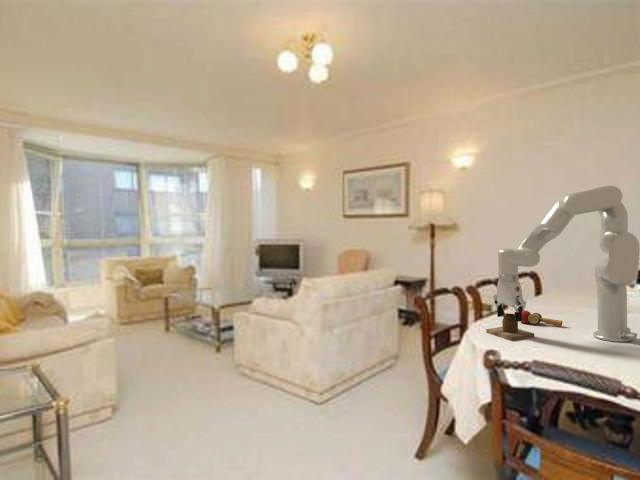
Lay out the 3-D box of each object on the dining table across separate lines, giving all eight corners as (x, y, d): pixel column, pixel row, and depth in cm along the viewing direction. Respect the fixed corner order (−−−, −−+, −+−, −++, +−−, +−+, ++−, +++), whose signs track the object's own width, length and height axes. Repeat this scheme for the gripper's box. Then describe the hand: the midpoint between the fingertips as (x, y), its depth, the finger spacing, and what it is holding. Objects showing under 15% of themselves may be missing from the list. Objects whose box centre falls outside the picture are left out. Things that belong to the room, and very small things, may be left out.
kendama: (562, 327, 183) (519, 317, 194) (564, 315, 181) (520, 305, 192) (559, 334, 177) (515, 324, 188) (560, 321, 175) (516, 311, 186)
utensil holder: (518, 333, 166) (518, 304, 166) (502, 332, 168) (501, 304, 168) (517, 329, 172) (517, 301, 171) (501, 328, 174) (500, 301, 173)
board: (534, 337, 165) (534, 333, 165) (511, 340, 161) (511, 337, 161) (508, 329, 179) (508, 325, 178) (486, 332, 175) (486, 329, 175)
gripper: (532, 280, 162) (533, 322, 163) (500, 275, 179) (501, 313, 179) (517, 281, 160) (518, 324, 160) (486, 276, 176) (487, 315, 177)
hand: (509, 318), depth 170 cm, fingers open, 9 cm apart
